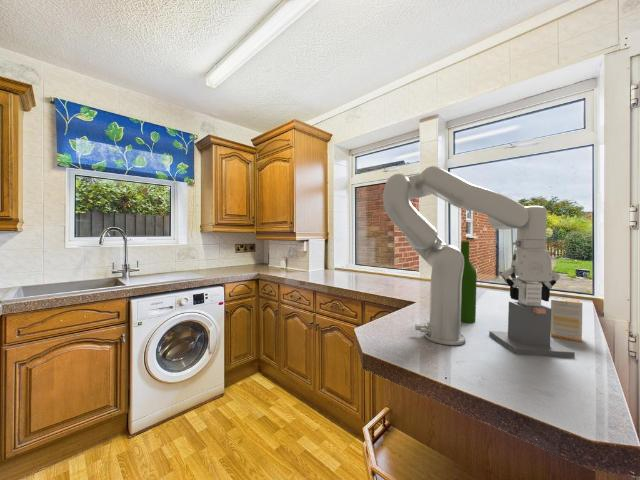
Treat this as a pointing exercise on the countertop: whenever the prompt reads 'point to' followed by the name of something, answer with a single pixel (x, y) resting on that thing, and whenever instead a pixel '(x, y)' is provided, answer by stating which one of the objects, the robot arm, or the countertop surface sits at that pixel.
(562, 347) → the stand
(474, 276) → the wine bottle
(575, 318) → the supplement box
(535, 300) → the column
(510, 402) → the countertop surface
